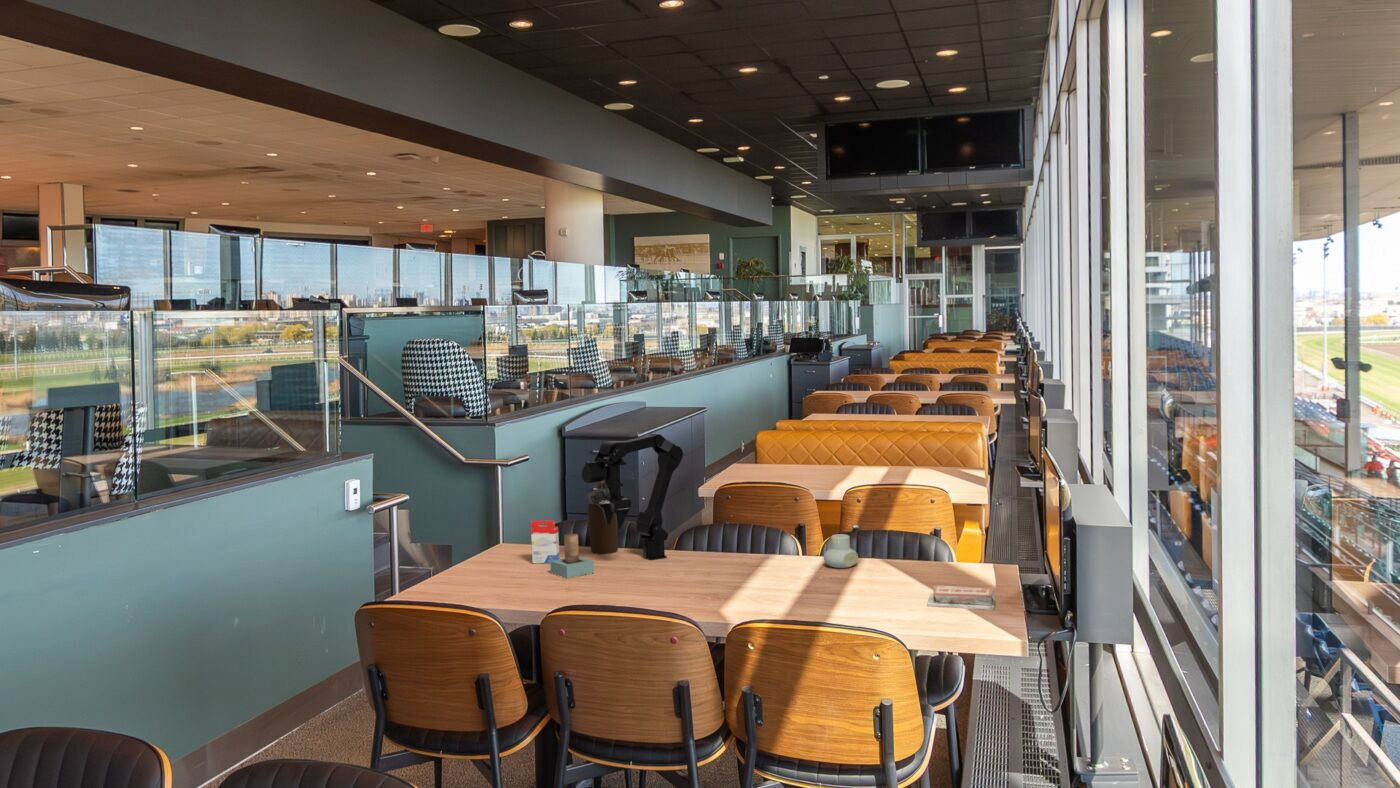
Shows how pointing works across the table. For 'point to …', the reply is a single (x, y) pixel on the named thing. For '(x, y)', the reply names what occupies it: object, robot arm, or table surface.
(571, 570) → the socket block
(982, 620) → the table surface
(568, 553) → the peg
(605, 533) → the olive oil
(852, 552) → the pale green rounded piece
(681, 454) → the robot arm
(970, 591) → the packaged product
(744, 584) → the table surface
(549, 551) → the ink box
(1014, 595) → the table surface
